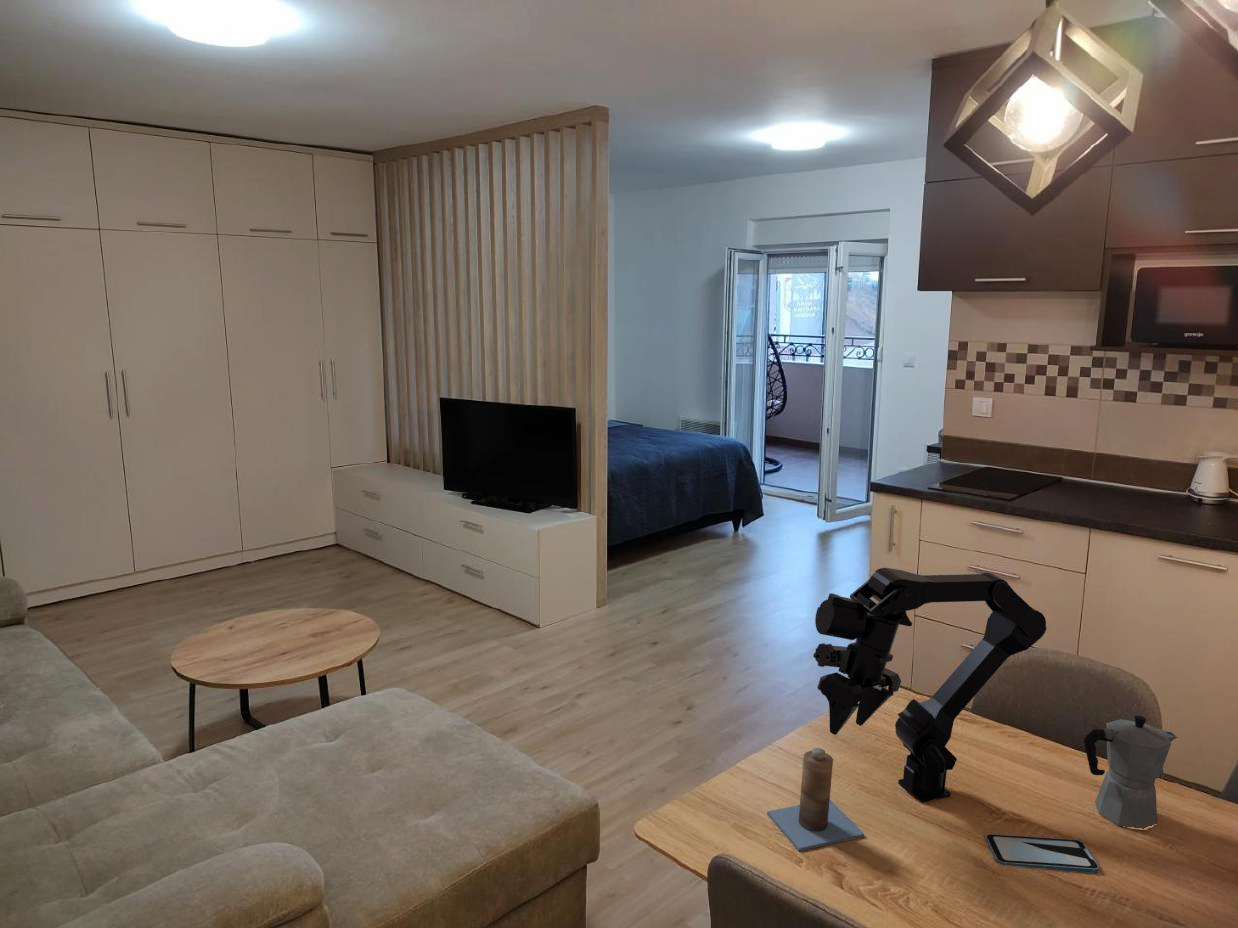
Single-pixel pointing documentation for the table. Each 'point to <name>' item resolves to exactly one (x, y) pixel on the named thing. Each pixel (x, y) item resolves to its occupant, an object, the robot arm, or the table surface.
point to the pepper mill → (815, 790)
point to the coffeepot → (1129, 770)
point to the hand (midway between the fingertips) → (846, 728)
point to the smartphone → (1042, 853)
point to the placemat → (805, 839)
